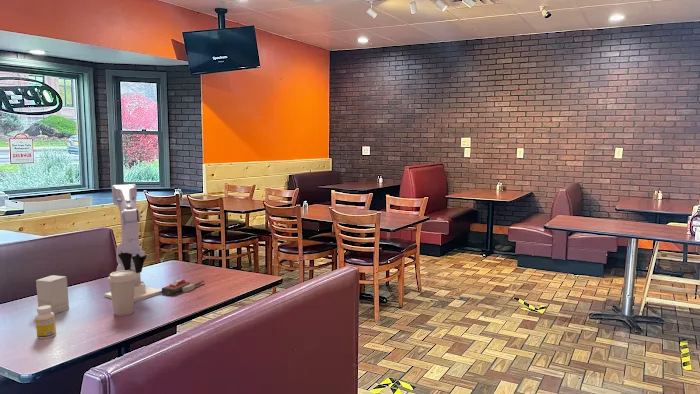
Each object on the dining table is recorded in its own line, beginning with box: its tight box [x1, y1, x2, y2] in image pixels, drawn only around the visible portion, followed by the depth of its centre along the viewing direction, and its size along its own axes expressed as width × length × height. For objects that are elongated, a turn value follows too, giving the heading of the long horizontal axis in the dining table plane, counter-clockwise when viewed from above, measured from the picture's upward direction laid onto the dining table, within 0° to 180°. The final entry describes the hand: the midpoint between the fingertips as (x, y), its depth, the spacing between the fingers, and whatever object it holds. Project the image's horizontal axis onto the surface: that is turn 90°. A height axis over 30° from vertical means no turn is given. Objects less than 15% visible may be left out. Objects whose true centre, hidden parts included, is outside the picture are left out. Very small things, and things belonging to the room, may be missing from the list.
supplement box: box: [35, 274, 70, 315], centre depth 191 cm, size 7×7×13 cm
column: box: [129, 268, 142, 287], centre depth 209 cm, size 4×4×7 cm
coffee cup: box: [107, 270, 136, 317], centre depth 188 cm, size 10×10×15 cm
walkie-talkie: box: [161, 278, 205, 296], centre depth 218 cm, size 9×4×20 cm
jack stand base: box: [103, 282, 163, 303], centre depth 210 cm, size 16×16×4 cm
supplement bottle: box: [34, 305, 57, 340], centre depth 167 cm, size 5×5×10 cm
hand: (133, 271), depth 209 cm, fingers open, 7 cm apart
